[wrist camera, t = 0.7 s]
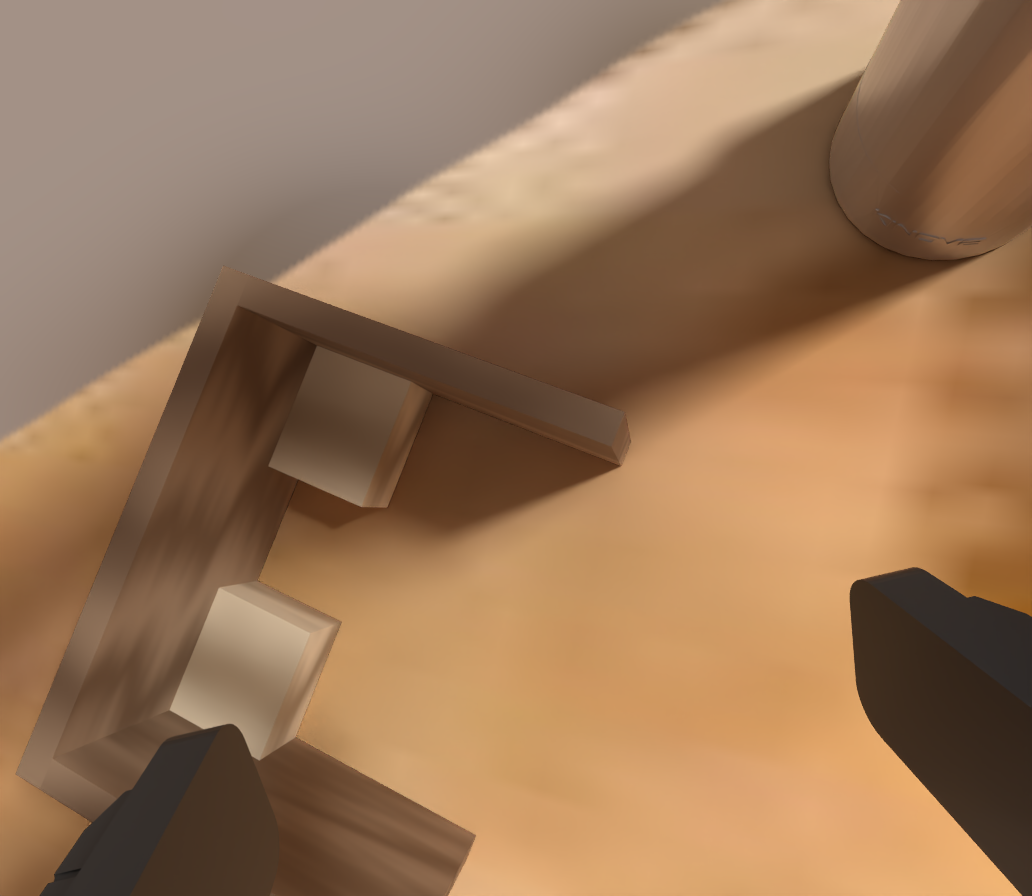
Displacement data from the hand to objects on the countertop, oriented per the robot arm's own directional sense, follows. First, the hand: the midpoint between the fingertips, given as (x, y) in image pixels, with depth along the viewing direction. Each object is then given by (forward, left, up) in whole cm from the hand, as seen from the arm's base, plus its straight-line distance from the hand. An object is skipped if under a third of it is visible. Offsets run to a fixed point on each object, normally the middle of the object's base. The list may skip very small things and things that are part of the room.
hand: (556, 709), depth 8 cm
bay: (+5, -10, -21) cm, 24 cm away
